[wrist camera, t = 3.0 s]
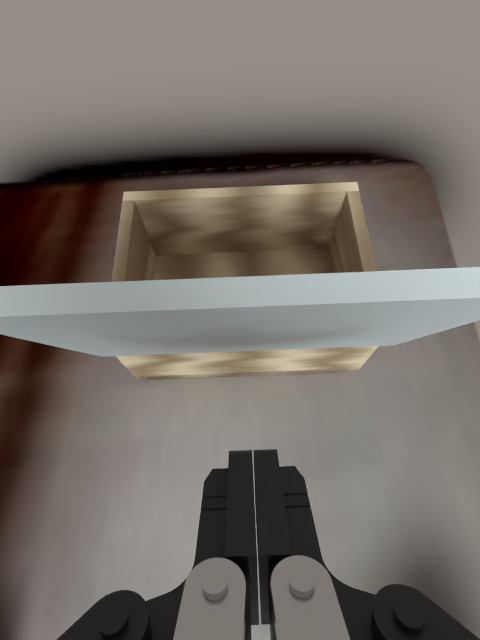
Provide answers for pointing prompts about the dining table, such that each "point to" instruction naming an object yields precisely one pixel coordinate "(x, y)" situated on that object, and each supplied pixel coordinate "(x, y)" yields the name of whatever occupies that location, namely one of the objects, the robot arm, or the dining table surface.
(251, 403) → the dining table surface
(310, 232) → the chest
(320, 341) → the lid
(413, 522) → the dining table surface
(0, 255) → the dining table surface
